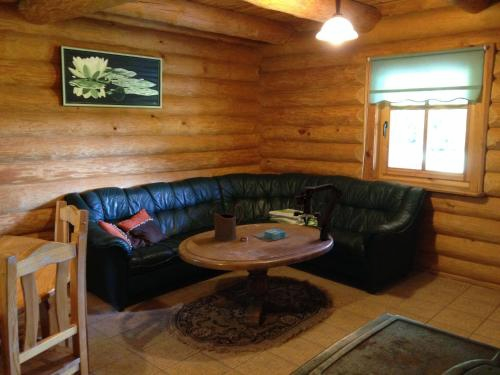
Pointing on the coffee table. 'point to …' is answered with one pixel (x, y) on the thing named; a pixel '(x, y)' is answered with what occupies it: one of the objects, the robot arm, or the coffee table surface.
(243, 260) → the coffee table surface
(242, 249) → the coffee table surface
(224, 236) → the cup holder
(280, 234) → the data package
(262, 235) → the slate rubber mat
